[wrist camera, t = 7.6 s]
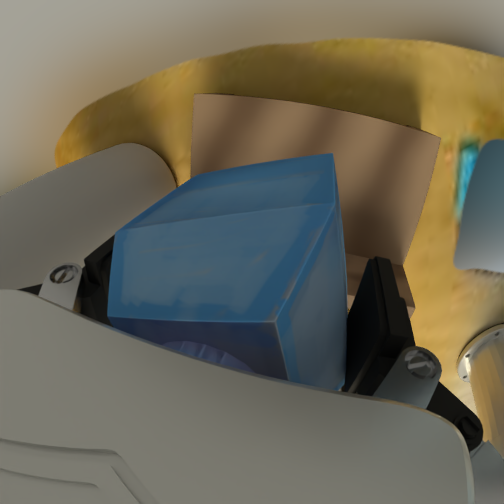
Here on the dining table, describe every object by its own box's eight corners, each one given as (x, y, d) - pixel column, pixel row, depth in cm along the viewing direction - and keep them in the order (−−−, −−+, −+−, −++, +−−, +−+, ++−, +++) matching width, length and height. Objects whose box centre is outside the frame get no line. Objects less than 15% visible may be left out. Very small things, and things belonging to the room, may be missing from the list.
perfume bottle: (196, 174, 13) (-29, 366, 3) (333, 152, 12) (309, 509, 1) (229, 285, 16) (119, 497, 6) (346, 279, 14) (324, 548, 4)
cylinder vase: (166, 130, 30) (-54, 232, 8) (192, 234, 35) (50, 404, 14) (89, 154, 33) (-77, 244, 12) (115, 239, 39) (-14, 361, 18)
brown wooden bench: (421, 129, 23) (472, 152, 13) (389, 247, 30) (409, 319, 20) (217, 93, 26) (155, 96, 17) (210, 211, 33) (160, 265, 23)
